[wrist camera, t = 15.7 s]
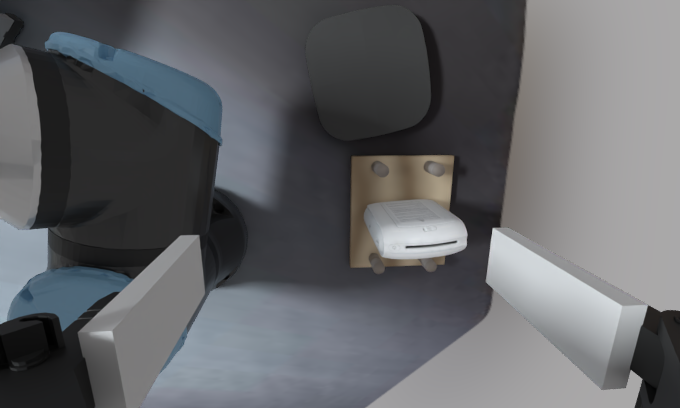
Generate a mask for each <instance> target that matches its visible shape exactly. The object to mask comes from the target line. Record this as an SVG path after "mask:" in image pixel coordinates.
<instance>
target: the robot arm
mask: <svg viewBox="0 0 680 408" xmlns="http://www.w3.org/2000/svg"><path fill="white" fill-rule="evenodd" d="M45 48H46V51H48V52H45V51H40V50H36V49H31V48H27V47H23V46H18V45H14V44H9V45H7V46H5V47H3V48H1V49H0V219H2V220H3V221H5V222H7V223H8V224H10V225H12V226H13V227H15V228H17V229H18V230H29V229H40V228H48V267H47V270H46V271H45V272H43V273H41V274H38V275H36V276H35V277H33V278H32V279H30V280H29V281H28V283H27V284H26V285H25V286H24V287H23V289H22V290H21V291H20V292H19V293H18V294H17V295H16V297H15V298H14V299H13V301H12V303H11V306H10V309H9V311H8V316H7V322H4V323H2V324H0V408H140V406H141V404H142V402H143V401H144V399H145V397H146V396H147V394H148V392H149V390H150V389H151V387H152V385H153V383H154V382H155V380H156V378H157V376H158V375H159V374H160V373H161V372H162V371H163V370H164V369H165V368H166V366H167V365H168V364H169V363H170V361H171V360H172V358H173V357H174V356H175V354H176V353H177V352H178V351H179V350H180V349H181V347H182V346H183V345H184V341H185V340H186V337H187V334H188V332H189V330H190V328H191V326H192V324H193V322H194V321H195V319H196V317H197V315H198V313H199V311H200V310H201V308H202V306H203V304H204V302H205V300H206V298H207V297H208V295H209V293H210V291H212V290H213V289H215V288H217V287H219V286H220V285H222V284H223V283H225V282H226V281H227V280H228V279H230V278H231V277H232V275H233V274H234V273H235V272H236V270H237V269H238V267H239V266H240V264H241V261H242V259H243V257H244V255H245V252H246V247H247V230H246V225H245V222H244V220H243V217H242V215H241V214H240V212H239V210H238V209H237V208H236V206H235V205H234V204H233V203H232V202H231V201H230V200H229V199H228V198H227V197H226V196H224V195H223V194H221V193H220V192H218V191H216V190H214V186H215V177H216V169H217V160H218V152H219V146H222V138H221V137H220V134H221V121H222V102H221V99H220V97H219V95H218V94H217V92H216V91H215V90H214V89H213V88H212V87H210V86H209V85H208V84H206V83H205V82H203V81H201V80H199V79H197V78H195V77H193V76H191V75H189V74H186V73H184V72H182V71H179V70H177V69H175V68H172V67H170V66H167V65H165V64H162V63H160V62H157V61H154V60H152V59H149V58H146V57H143V56H141V55H138V54H135V53H132V52H129V51H126V50H123V49H115V48H114V47H112V46H109V45H106V44H102V43H100V42H98V41H95V40H93V39H89V38H86V37H82V36H79V35H75V34H71V33H66V32H55V33H52V34H51V35H50V37H49V40H47V41H46V42H45ZM486 283H487V284H488V285H490V286H491V287H492V288H493V289H494V290H495V291H496V292H497V293H498V294H499V295H501V297H502V298H504V299H505V300H506V301H507V302H508V303H509V304H510V305H511V306H512V307H513V308H514V309H515V310H517V311H518V312H519V313H520V314H521V315H522V316H523V317H524V318H525V319H526V320H527V321H528V322H529V323H530V324H532V325H533V326H534V327H535V328H536V329H537V330H538V331H539V332H540V333H541V334H542V335H543V336H544V337H545V338H547V339H548V340H549V341H550V342H551V343H552V344H553V345H554V346H555V347H556V348H557V349H559V351H561V352H562V353H563V354H564V355H565V356H566V357H567V358H568V359H569V360H570V361H571V362H572V363H573V364H575V365H576V366H577V367H578V368H579V369H580V370H581V371H582V372H583V373H584V374H585V375H587V377H589V378H590V379H591V380H592V381H593V382H594V383H595V384H596V385H597V386H599V388H600V389H601V390H606V389H620V388H626V385H627V382H628V378H629V374H630V370H632V371H633V372H635V373H636V374H637V375H638V376H640V377H641V378H642V379H643V380H642V384H641V387H640V391H639V394H638V398H637V402H636V405H635V408H680V311H676V310H666V311H663V312H660V311H658V310H656V309H654V308H652V307H651V306H649V305H648V304H646V303H644V302H642V301H640V300H639V299H637V298H635V297H633V296H631V295H630V294H628V293H626V292H624V291H622V290H620V289H619V288H617V287H615V286H613V285H611V284H610V283H608V282H606V281H604V280H602V279H601V278H599V277H597V276H595V275H593V274H592V273H590V272H588V271H586V270H584V269H583V268H581V267H579V266H577V265H575V264H574V263H572V262H570V261H568V260H566V259H565V258H563V257H561V256H559V255H557V254H556V253H554V252H552V251H550V250H548V249H546V248H545V247H543V246H541V245H539V244H537V243H535V242H534V241H532V240H530V239H528V238H527V237H525V236H523V235H521V234H519V233H518V232H516V231H514V230H512V229H510V228H493V231H492V238H491V246H490V254H489V262H488V269H487V277H486Z"/></svg>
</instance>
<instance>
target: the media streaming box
mask: <svg viewBox="0 0 680 408" xmlns="http://www.w3.org/2000/svg"><path fill="white" fill-rule="evenodd" d="M305 55H306V61H307V67H308V72H309V77H310V82H311V87H312V92H313V96H314V100H315V104H316V108H317V112H318V115H319V119H320V122H321V125H322V126H323V128H324V129H325V130H326V131H327V132H328V133H329V134H330V135H331V136H333V137H335V138H337V139H339V140H344V141H351V140H357V139H363V138H369V137H374V136H379V135H383V134H387V133H391V132H395V131H399V130H402V129H406V128H409V127H412V126H414V125H416V124H417V123H419V122H420V121H421V120H422V119H423V117H424V116H425V115H426V113H427V111H428V109H429V106H430V102H431V85H430V72H429V63H428V56H427V50H426V45H425V39H424V35H423V30H422V26H421V24H420V22H419V20H418V19H417V17H416V16H415V15H414V14H413V13H412V12H411V11H410V10H408V9H406V8H405V7H402V6H399V5H386V6H378V7H372V8H366V9H361V10H356V11H352V12H348V13H344V14H340V15H336V16H333V17H330V18H327V19H324V20H322V21H320V22H319V23H318V24H316V25H315V26H314V27H313V29H312V30H311V32H310V33H309V35H308V38H307V41H306V46H305Z"/></svg>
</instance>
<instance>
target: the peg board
mask: <svg viewBox="0 0 680 408" xmlns="http://www.w3.org/2000/svg"><path fill="white" fill-rule="evenodd" d="M453 165H454V156H452V155H366V156H351V196H350V268H360V267H372V268H373V271H374V272H375V273H376V274H381V273H383V272H384V270H385V267H388V266H416V265H423V267H424V268H425V269H426V270H427V271H428V272H433V271H435V270H436V268H437V265H444V263H445V256H440V257H433V258H423V259H389V258H384V257H382V256H381V255H380V253H379V251H378V249H377V247H376V245H375V243H374V241H373V239H372V237H371V235H370V233H369V230H368V228H367V226H366V223H365V221H364V212H365V210H366V208H367V205H369V204H373V203H379V202H389V201H400V200H414V199H428V200H433V201H435V202H436V203H438V204H439V205H441V206H442V207H443V208H445V209H446V210H448V211H449V208H450V197H451V186H452V175H453Z"/></svg>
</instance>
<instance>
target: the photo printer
mask: <svg viewBox="0 0 680 408" xmlns="http://www.w3.org/2000/svg"><path fill="white" fill-rule="evenodd" d="M364 221H365V223H366V226H367V228H368V230H369V233H370V235H371V237H372V239H373V241H374V243H375V245H376V247H377V249H378V251H379V253H380V255H381V256H382V257H384V258H389V259H423V258H433V257H440V256H445V255H450V254H454V253H457V252H459V251H462V250H464V249H465V248H466V246H467V235H468V234H467V230H466V227H465V225H464V223H463V222H462V220H461V219H459V218H458V217H456V216H455V215H453V214H452V213H451V212H449V211H448V210H446V209H445V208H443V207H442V206H441V205H439V204H438V203H436V202H435V201H433V200H428V199H414V200H400V201H389V202H379V203H373V204H369V205H367V208H366V210H365V212H364Z"/></svg>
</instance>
